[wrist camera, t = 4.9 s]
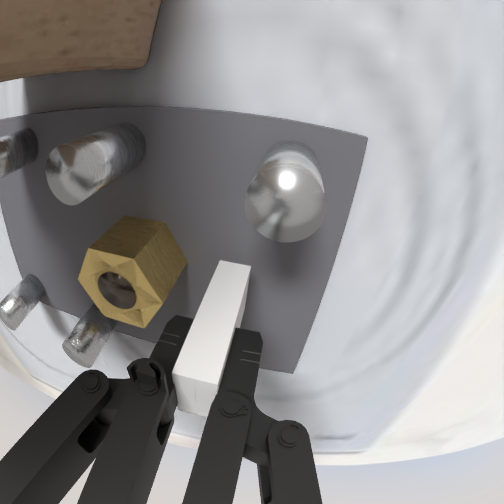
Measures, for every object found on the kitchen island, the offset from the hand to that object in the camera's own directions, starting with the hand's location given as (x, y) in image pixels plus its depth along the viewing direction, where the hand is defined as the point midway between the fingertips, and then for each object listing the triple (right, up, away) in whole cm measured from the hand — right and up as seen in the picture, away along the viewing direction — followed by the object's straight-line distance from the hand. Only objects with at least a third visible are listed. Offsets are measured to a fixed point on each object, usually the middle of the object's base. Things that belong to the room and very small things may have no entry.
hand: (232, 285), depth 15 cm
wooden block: (-7, +16, -6) cm, 18 cm away
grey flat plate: (-7, +2, +2) cm, 7 cm away
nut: (-5, +2, +1) cm, 5 cm away
